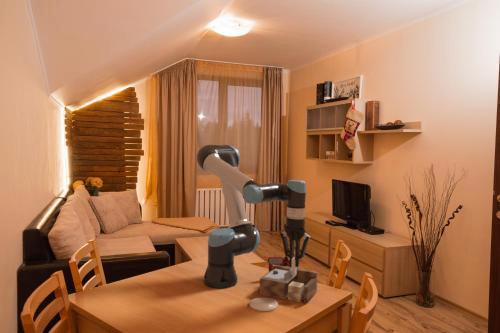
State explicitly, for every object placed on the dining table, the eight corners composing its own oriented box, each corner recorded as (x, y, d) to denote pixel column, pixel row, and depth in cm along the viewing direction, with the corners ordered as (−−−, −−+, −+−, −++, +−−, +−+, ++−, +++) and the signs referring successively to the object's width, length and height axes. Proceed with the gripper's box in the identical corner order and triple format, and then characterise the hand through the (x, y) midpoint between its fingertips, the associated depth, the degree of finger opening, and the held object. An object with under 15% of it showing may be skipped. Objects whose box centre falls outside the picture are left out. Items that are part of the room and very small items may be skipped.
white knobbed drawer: (264, 279, 152) (264, 270, 151) (275, 270, 163) (275, 262, 162) (287, 283, 147) (287, 274, 147) (297, 274, 158) (297, 266, 158)
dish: (244, 307, 139) (244, 305, 139) (256, 297, 149) (256, 295, 149) (271, 313, 134) (271, 311, 134) (282, 302, 144) (282, 300, 144)
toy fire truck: (295, 280, 169) (296, 258, 169) (269, 281, 167) (269, 259, 167) (291, 275, 176) (292, 254, 175) (266, 276, 174) (266, 254, 174)
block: (287, 299, 147) (288, 285, 147) (292, 295, 152) (292, 281, 152) (299, 302, 145) (300, 287, 145) (303, 298, 150) (304, 283, 149)
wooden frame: (259, 293, 153) (260, 273, 152) (272, 283, 165) (273, 264, 165) (307, 303, 144) (307, 282, 143) (317, 291, 156) (317, 272, 156)
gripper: (277, 217, 151) (276, 273, 152) (308, 220, 145) (306, 279, 146) (284, 214, 157) (282, 268, 159) (313, 217, 152) (311, 273, 153)
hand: (293, 273), depth 152 cm, fingers closed
